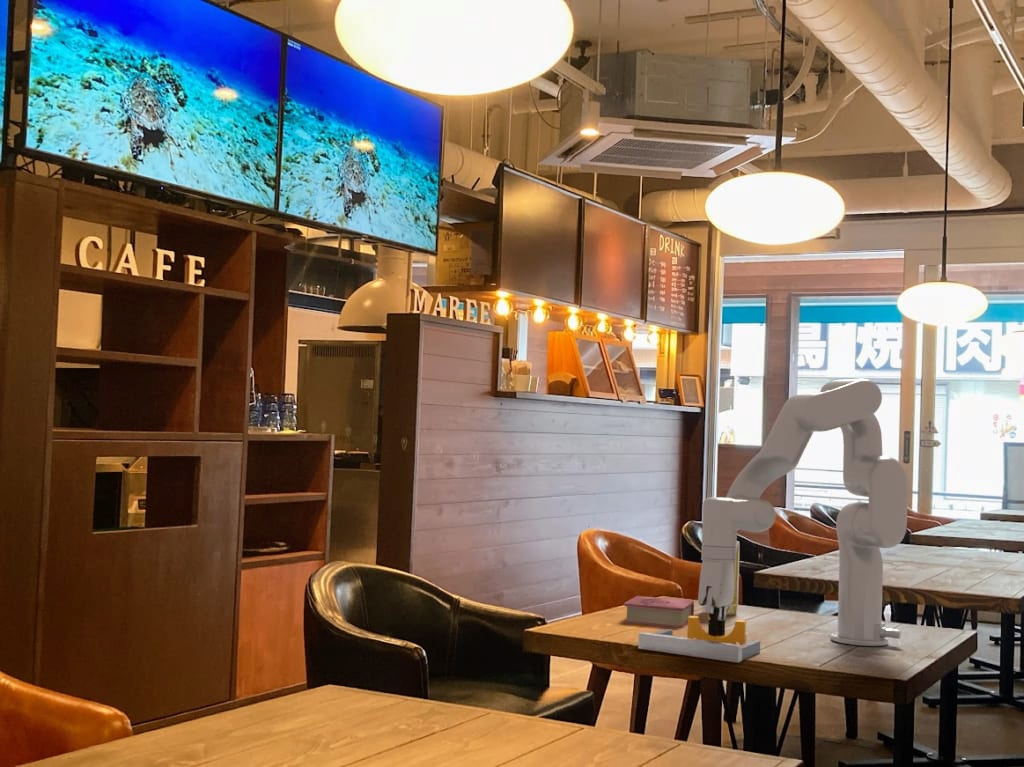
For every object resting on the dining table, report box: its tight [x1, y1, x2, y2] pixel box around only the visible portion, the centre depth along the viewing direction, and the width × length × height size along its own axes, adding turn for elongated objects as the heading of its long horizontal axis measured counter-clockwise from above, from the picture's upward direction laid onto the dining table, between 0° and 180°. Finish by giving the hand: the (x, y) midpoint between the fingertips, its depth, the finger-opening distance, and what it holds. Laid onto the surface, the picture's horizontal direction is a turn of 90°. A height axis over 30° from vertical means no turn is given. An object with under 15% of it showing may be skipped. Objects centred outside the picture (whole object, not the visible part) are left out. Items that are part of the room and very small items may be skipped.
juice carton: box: [701, 540, 740, 617], centre depth 297 cm, size 8×9×19 cm
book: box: [623, 595, 695, 628], centre depth 282 cm, size 14×15×5 cm
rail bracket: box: [637, 628, 761, 664], centre depth 243 cm, size 22×14×3 cm, turn 59°
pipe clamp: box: [686, 615, 747, 645], centre depth 247 cm, size 12×4×6 cm, turn 72°
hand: (716, 638), depth 251 cm, fingers closed
